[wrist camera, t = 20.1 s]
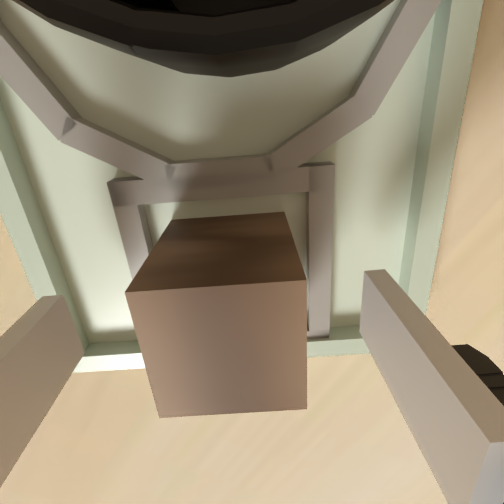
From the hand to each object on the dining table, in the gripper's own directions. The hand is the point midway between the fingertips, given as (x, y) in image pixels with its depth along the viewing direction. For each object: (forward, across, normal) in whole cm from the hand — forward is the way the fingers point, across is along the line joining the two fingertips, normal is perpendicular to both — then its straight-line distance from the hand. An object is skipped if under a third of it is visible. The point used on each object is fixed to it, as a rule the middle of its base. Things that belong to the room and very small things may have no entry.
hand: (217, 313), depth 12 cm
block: (+3, 0, 0) cm, 4 cm away
